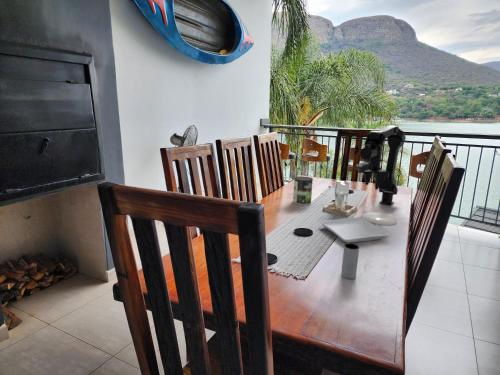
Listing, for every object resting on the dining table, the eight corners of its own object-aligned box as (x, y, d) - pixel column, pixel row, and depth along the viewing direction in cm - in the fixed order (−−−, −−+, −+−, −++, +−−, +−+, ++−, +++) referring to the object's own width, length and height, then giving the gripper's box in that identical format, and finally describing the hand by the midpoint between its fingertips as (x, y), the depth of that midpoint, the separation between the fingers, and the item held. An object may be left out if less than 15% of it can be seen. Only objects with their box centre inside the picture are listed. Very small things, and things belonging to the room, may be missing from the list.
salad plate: (344, 247, 122) (345, 239, 121) (318, 227, 142) (319, 220, 141) (390, 242, 127) (391, 234, 126) (359, 223, 147) (360, 216, 146)
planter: (339, 272, 103) (341, 243, 100) (352, 271, 103) (355, 242, 100) (344, 279, 98) (347, 249, 96) (358, 279, 99) (361, 249, 96)
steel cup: (347, 213, 160) (350, 184, 157) (333, 212, 162) (335, 183, 158) (346, 208, 167) (348, 181, 163) (332, 207, 168) (335, 180, 164)
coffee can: (315, 203, 176) (316, 178, 173) (303, 206, 170) (304, 181, 166) (300, 198, 184) (302, 175, 180) (288, 202, 177) (290, 177, 174)
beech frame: (333, 205, 173) (333, 201, 173) (356, 210, 165) (357, 206, 165) (322, 210, 163) (323, 207, 163) (347, 216, 155) (347, 212, 155)
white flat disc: (368, 211, 163) (368, 210, 163) (400, 218, 153) (401, 217, 153) (356, 219, 151) (356, 218, 151) (391, 227, 141) (391, 226, 141)
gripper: (350, 154, 163) (348, 183, 167) (368, 160, 145) (365, 193, 149) (370, 153, 164) (367, 182, 169) (391, 160, 147) (387, 192, 151)
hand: (371, 187), depth 159 cm, fingers open, 9 cm apart
